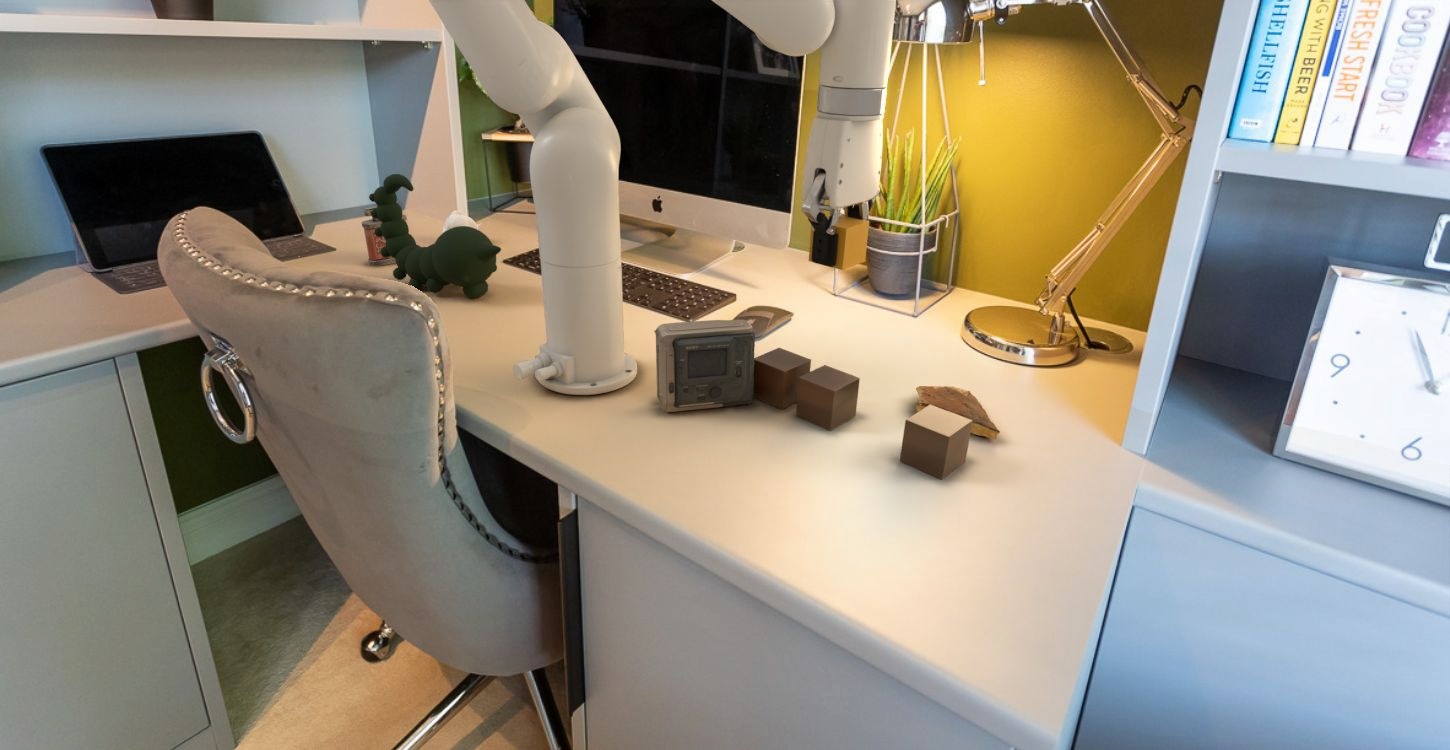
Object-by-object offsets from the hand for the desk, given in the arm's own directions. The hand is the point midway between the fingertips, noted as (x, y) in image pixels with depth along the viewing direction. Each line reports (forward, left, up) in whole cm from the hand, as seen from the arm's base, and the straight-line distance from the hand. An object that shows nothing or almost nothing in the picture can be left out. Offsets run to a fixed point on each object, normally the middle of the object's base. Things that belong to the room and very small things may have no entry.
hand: (837, 257), depth 96 cm
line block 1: (-10, 0, -15) cm, 18 cm away
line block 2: (-10, -7, -15) cm, 20 cm away
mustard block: (0, 0, 0) cm, 0 cm away
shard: (+2, -18, -16) cm, 24 cm away
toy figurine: (-20, +62, -16) cm, 67 cm away
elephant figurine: (-4, +84, -16) cm, 85 cm away
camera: (-18, +5, -16) cm, 24 cm away
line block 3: (-10, -21, -15) cm, 28 cm away
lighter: (-19, +83, -16) cm, 86 cm away
